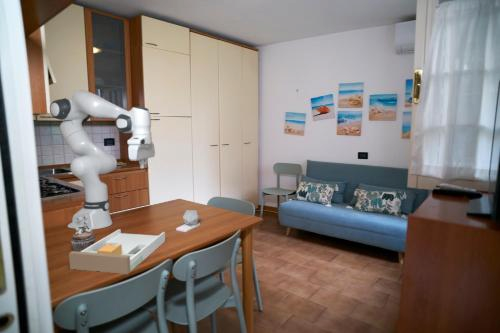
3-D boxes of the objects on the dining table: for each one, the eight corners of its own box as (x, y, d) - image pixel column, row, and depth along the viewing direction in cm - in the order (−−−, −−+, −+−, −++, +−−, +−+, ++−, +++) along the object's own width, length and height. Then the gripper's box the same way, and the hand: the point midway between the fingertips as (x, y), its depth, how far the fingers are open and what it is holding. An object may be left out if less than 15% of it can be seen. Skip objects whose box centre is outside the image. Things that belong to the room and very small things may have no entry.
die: (191, 229, 171) (201, 213, 173) (177, 220, 172) (188, 205, 174) (193, 230, 179) (203, 215, 181) (180, 221, 180) (190, 206, 182)
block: (97, 260, 125) (97, 250, 124) (108, 252, 132) (108, 243, 132) (111, 261, 124) (111, 251, 124) (122, 253, 131) (121, 244, 131)
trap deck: (70, 269, 123) (68, 253, 122) (119, 237, 156) (118, 225, 155) (127, 274, 119) (126, 257, 118) (165, 241, 152) (164, 228, 151)
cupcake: (69, 248, 142) (67, 227, 141) (91, 243, 149) (90, 222, 148) (75, 255, 136) (74, 232, 134) (99, 248, 142) (97, 227, 141)
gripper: (146, 138, 166) (147, 165, 168) (125, 141, 146) (126, 170, 148) (157, 139, 165) (158, 165, 167) (138, 141, 145) (139, 171, 147)
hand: (143, 167), depth 157 cm, fingers closed
